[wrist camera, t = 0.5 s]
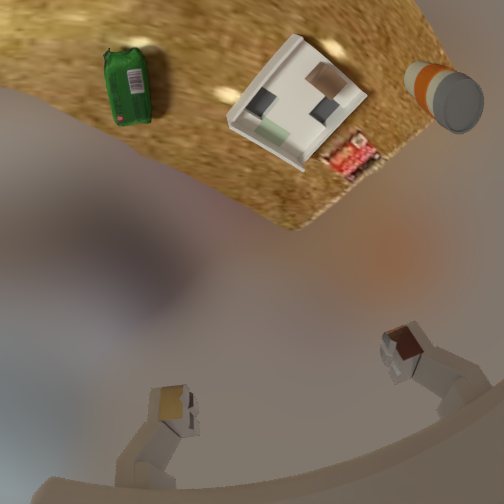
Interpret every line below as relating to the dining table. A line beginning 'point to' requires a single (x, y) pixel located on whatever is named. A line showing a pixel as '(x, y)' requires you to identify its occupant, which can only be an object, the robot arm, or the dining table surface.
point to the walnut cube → (326, 80)
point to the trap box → (291, 105)
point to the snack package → (128, 87)
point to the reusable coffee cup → (445, 95)
